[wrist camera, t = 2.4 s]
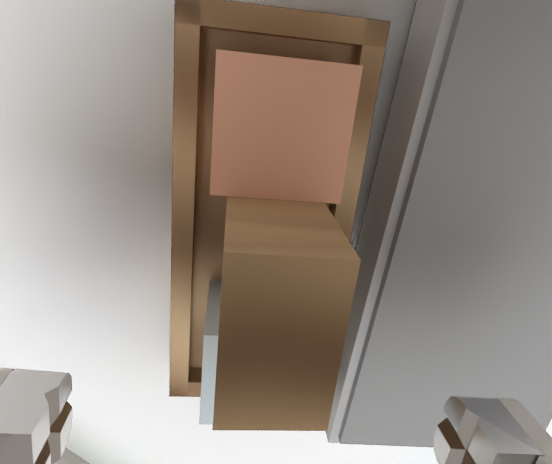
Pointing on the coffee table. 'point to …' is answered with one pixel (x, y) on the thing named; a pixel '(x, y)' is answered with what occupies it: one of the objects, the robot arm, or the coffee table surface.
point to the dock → (456, 229)
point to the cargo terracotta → (282, 126)
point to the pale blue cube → (210, 352)
